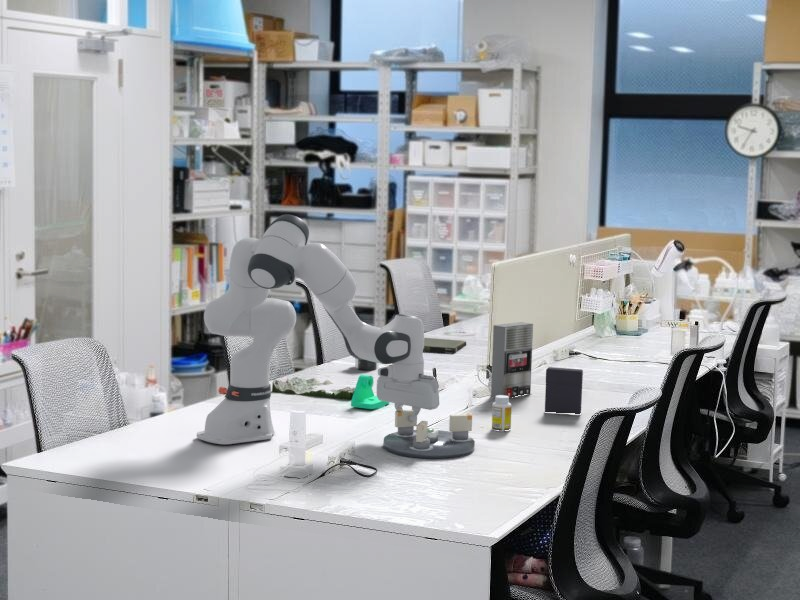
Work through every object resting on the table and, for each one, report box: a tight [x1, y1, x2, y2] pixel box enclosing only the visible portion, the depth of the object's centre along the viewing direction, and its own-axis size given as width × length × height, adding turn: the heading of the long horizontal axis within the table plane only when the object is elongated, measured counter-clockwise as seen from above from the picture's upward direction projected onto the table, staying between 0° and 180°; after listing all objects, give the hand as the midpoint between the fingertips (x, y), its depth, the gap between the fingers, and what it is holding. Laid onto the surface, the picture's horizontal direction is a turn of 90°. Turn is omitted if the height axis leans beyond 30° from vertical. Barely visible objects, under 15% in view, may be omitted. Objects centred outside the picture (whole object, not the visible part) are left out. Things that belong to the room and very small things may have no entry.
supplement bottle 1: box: [357, 359, 377, 372], centre depth 431 cm, size 7×7×12 cm
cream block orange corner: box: [394, 409, 418, 435], centre depth 329 cm, size 6×4×6 cm
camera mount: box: [350, 374, 391, 410], centre depth 372 cm, size 12×8×10 cm, turn 151°
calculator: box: [544, 366, 584, 414], centre depth 366 cm, size 11×4×15 cm, turn 74°
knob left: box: [413, 420, 430, 449], centre depth 314 cm, size 6×4×6 cm
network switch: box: [423, 337, 467, 355], centre depth 478 cm, size 23×24×5 cm
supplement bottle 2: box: [491, 395, 512, 431], centre depth 345 cm, size 6×6×10 cm
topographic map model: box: [271, 376, 355, 401], centre depth 402 cm, size 36×29×5 cm
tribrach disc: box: [382, 427, 475, 460], centre depth 323 cm, size 25×25×5 cm
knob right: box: [448, 413, 473, 440], centre depth 325 cm, size 6×4×6 cm
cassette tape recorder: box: [490, 321, 534, 399], centre depth 389 cm, size 14×6×25 cm, turn 131°
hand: (407, 420), depth 329 cm, fingers closed on cream block orange corner, 3 cm apart
